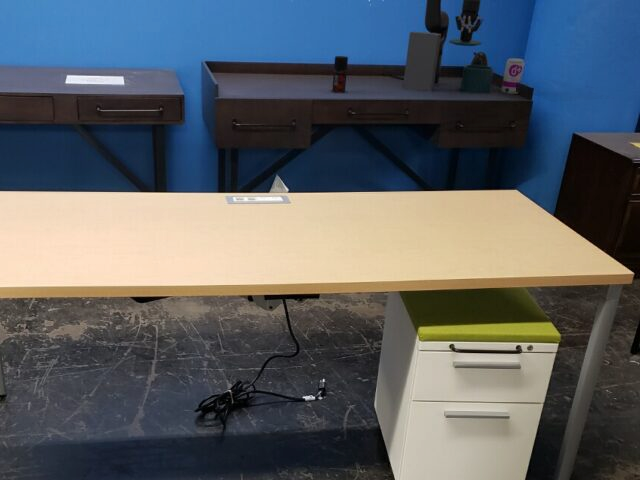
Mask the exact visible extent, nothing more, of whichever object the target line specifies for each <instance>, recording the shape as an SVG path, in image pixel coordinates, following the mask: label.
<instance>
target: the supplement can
mask: <svg viewBox="0 0 640 480" xmlns="http://www.w3.org/2000/svg"><path fill="white" fill-rule="evenodd" d="M524 67H525V60H524V59H522V58H516V57H515V58H513V57H511V58H508V59H507V61H506V62H505V69H504V74H503V79H502V84H501V89H500V90H501V92H502V94H507V95H517V94H518V93H519V92H516V85H517V84H516V83H518V84H520V85H521V84H522V78H523V72H524Z"/></svg>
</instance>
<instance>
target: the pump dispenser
mask: <svg viewBox="0 0 640 480" xmlns="http://www.w3.org/2000/svg"><path fill="white" fill-rule="evenodd" d="M473 55H474V56H473V57H472V60H471V62H470V64H469V65H482V66H489V61H488V57H487V55H486V52H484V51H478V52H476V51H474V52H473Z"/></svg>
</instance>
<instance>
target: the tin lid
mask: <svg viewBox="0 0 640 480" xmlns="http://www.w3.org/2000/svg"><path fill="white" fill-rule="evenodd" d="M468 30H469V27H467V28H465V29H464V35H463V41H461V39H460V38H459V39H458V38H457V39H455V38H454V39H449V40H448V42H449V44H453V45H456V46H462V47H463V46H464V47H475V46H481V45H482V41H479V40H474V39H472V40H471V41H470V42H467V36H468V33H469V32H468Z"/></svg>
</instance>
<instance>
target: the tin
mask: <svg viewBox="0 0 640 480" xmlns="http://www.w3.org/2000/svg"><path fill="white" fill-rule="evenodd" d="M494 70H495V68H494V67H492V66H489V65H488V66H482V65H470V64H466V65H463V70H462V76H461V84H460V90H461V91H462V92H465V93H472V94H473V93H474V94H488V93H490V91H491V86H492V80H493V75H494Z"/></svg>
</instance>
